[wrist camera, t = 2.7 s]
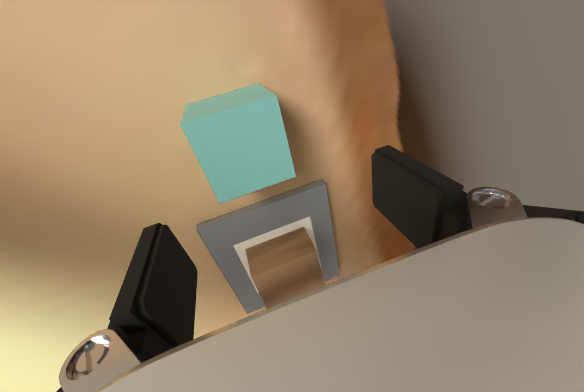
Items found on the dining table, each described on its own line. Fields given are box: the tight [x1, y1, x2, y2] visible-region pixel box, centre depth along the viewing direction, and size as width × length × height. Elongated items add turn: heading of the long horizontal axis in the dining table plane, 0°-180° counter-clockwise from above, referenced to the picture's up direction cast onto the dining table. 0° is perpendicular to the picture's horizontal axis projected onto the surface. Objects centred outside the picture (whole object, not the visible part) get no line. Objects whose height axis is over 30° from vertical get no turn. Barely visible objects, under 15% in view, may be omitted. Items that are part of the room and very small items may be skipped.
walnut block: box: [245, 227, 325, 309], centre depth 27 cm, size 7×7×4 cm
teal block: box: [180, 83, 296, 204], centre depth 19 cm, size 6×6×6 cm
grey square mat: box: [197, 180, 340, 314], centre depth 30 cm, size 16×14×1 cm
